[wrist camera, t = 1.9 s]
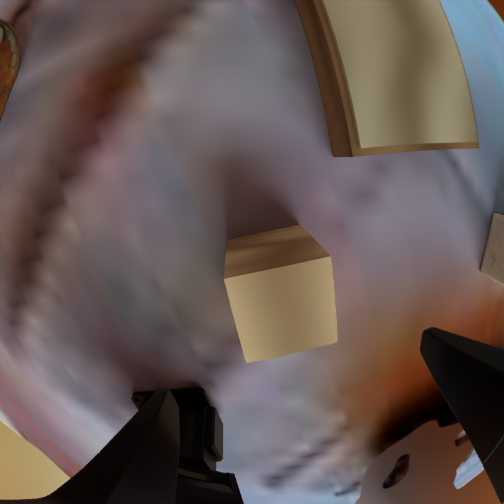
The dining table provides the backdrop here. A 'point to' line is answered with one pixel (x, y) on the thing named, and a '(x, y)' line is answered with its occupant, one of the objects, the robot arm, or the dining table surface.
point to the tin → (8, 61)
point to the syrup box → (495, 250)
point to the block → (280, 292)
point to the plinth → (389, 76)
